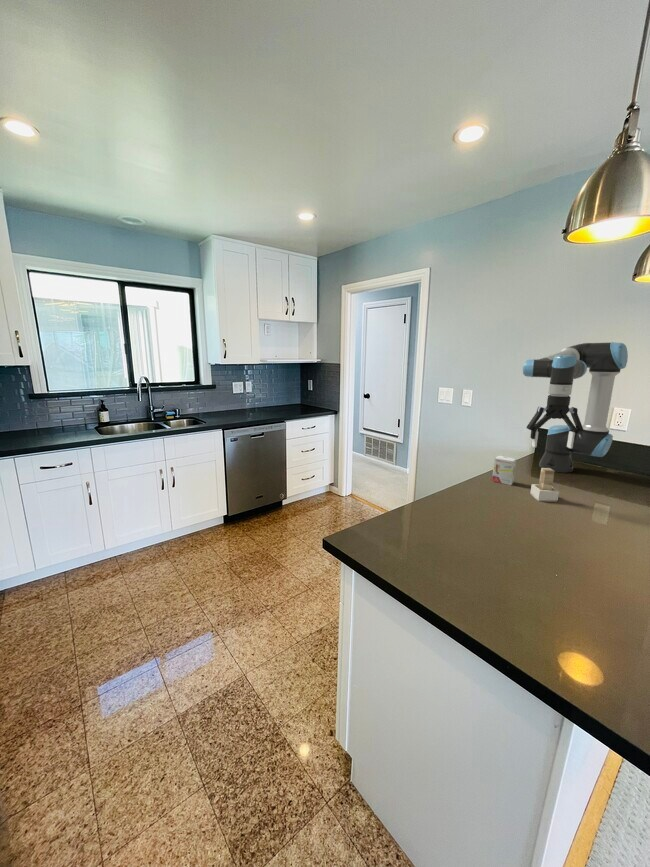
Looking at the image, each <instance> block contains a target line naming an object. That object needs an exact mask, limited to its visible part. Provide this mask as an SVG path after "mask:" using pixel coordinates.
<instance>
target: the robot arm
mask: <svg viewBox="0 0 650 867" xmlns="http://www.w3.org/2000/svg"><path fill="white" fill-rule="evenodd" d="M628 360H629V358H628V348H627V346H626V344H625V343H624V342H616V341H615V342H613V341H612V342H585V343H578V344H575V345H571V346H568V347H565V348H562V349H561V350H560V351H558V352H556V353H554V354H550V355H548V356H545V357H543V358H538V359H534V358H533V359H527V360H525V361H524V363H523V365H522V375H524V376H525V377H526V378H527V377H528V378H529V377H530V378H546V379H549V386H548V395H547V398H546V400H547V402H546V407H542V406H538V407H537V409H536V412H535V414H534V415H533V417H532V418H531V420H530V421H529V422H528V424H527V425H526V429H528V430H530V435H529V436H530V437H529V438H530V439H531V447H533V448H537V446H538V445H537V444H538V439H539V431H538V430H539V429H540V428H541V427H543V425H545V424H546V423H547V422H548V421H549V420H551V419H555V420H556V419H557V420H563V421H564V423H565V424H566V425H565V424H562V425H559V424H558V425H552V426H550V427H548V430H547V434H546V435H547V436H546V442H545V449H544V450H545V451H544V453H543V455H542V457H541V458H540V461H539V463H538V467H539V468H551V469H552V470H554V471H555V472H554V473H563V474H564V473H565V474H566V473H572V472H573V471H574V464H573V460H572V453H576V454H581V455H585V456H590V457H597V458H598V457H599V458H603V457H605V455H606V454H607V453H608V451H609V450H610V447H611V445H612V443H613V441H614V440H613V437H614V436H613V434H612V433H610V429H609V428H608V427H607V422H608V417H609V413H610V412H609V411H610V408H611V401H612V397H613V395H612V394H613V391H614V384H615V379H616V376H617V375H618V374H620V373H621V370H623V369H625V368H626V367H627V365H628V364H627V363H628ZM588 369H589V370H588ZM587 371H588V372H589V373H590V375H591V381H590V387H589V391H588V397H587V398H588V399H587V404H586V410H585V416H584V422H583V424H582V422H581V419H580V417H579V414H578V408H577V407H574V406H572V407H569V406H570V405H571V395H572V392H573V391H572V390H573V383H574V380H576V379H580V378H582V377H583V376H585V374H586V373H587ZM543 413H544V415H543ZM568 413H570V415H571V418H572V420H571V419H570V417H569V415H568ZM542 416H543V417H542Z"/></svg>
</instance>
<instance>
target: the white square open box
mask: <svg viewBox="0 0 650 867" xmlns="http://www.w3.org/2000/svg"><path fill="white" fill-rule="evenodd" d="M538 487H539V484H536V483H535V484H534V483H531V486H530V494H529V495H531V496H532V497H533V498H534V499H535V500H536V501H538V502H551V503H552V502H553V503H558V499H559V495H560V491H559V490H558V489H556V488H555V487H553V486H552V491H548V490H540V489H539V488H538Z"/></svg>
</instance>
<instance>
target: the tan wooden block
mask: <svg viewBox="0 0 650 867" xmlns="http://www.w3.org/2000/svg"><path fill="white" fill-rule="evenodd" d="M540 468H541V467H540ZM555 473H556V472H555V471H554V470H552V469H551V468H541V469H540V475H539V482H538V485H539V487H538V488H539V489H540V490H548V491H552V487H553V484H554V479H555V478H554V477H555Z"/></svg>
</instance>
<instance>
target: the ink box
mask: <svg viewBox="0 0 650 867" xmlns="http://www.w3.org/2000/svg"><path fill="white" fill-rule="evenodd" d="M516 466H517V459H516V458H514V457H508V456H504V455H497V456H495V457H494V462H493V470H492V476H491V478H492V479H491V482H493V481H494V482H493V483H499V484H503V485H508V486H512V485H513V483H514V480H515V473H516Z"/></svg>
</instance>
